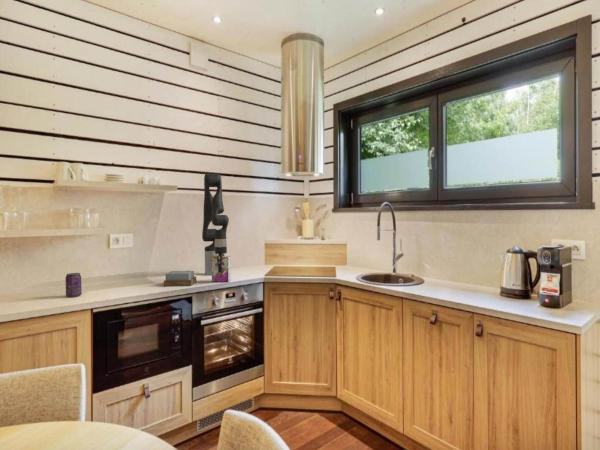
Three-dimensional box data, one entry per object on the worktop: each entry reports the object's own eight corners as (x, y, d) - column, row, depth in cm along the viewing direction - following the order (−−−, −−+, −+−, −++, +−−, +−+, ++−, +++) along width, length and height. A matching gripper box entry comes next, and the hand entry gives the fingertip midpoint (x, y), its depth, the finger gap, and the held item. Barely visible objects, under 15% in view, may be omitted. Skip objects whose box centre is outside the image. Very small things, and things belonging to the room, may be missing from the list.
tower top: (171, 277, 226) (171, 271, 226) (193, 277, 226) (193, 270, 226) (165, 280, 215) (165, 273, 215) (188, 280, 215) (188, 273, 215)
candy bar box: (211, 282, 226) (211, 256, 226) (214, 280, 231) (213, 255, 231) (228, 282, 225) (228, 256, 225) (230, 281, 230) (230, 255, 230)
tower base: (170, 283, 227) (170, 277, 227) (196, 282, 228) (196, 276, 228) (163, 287, 213) (163, 280, 213) (191, 286, 214) (191, 280, 214)
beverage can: (70, 295, 192) (70, 272, 191) (84, 294, 192) (83, 272, 192) (62, 297, 185) (62, 274, 184) (77, 297, 185) (76, 274, 185)
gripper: (216, 245, 235) (217, 269, 235) (212, 246, 220) (213, 273, 220) (228, 245, 235) (228, 269, 235) (225, 246, 221) (225, 272, 221)
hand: (221, 271), depth 228 cm, fingers open, 8 cm apart
